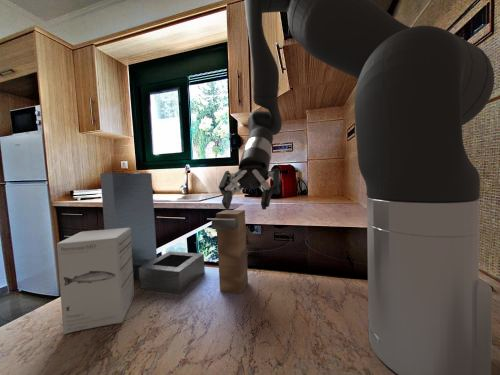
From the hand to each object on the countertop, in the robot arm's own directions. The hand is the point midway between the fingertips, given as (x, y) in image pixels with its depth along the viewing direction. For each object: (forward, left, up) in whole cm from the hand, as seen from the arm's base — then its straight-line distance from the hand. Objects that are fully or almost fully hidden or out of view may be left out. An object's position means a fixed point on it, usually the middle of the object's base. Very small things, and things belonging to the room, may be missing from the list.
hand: (244, 207), depth 46 cm
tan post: (0, +7, -14) cm, 16 cm away
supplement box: (+17, +19, -14) cm, 29 cm away
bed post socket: (+17, +7, -14) cm, 23 cm away
